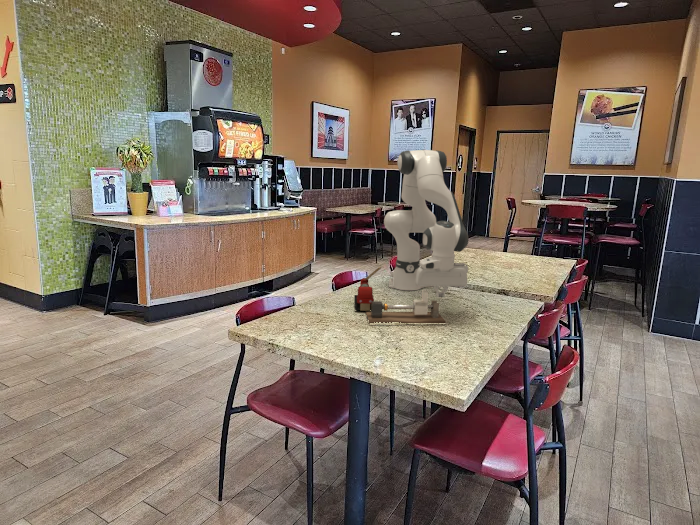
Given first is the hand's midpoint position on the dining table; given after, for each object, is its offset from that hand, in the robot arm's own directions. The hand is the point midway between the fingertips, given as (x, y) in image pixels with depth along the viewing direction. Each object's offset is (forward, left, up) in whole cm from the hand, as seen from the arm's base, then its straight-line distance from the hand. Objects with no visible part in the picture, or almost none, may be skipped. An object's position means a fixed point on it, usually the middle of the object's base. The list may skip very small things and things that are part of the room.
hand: (440, 296), depth 184 cm
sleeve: (0, -8, -7) cm, 10 cm away
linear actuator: (0, -14, -10) cm, 17 cm away
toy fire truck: (-17, -27, -10) cm, 33 cm away
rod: (0, -14, -8) cm, 16 cm away
